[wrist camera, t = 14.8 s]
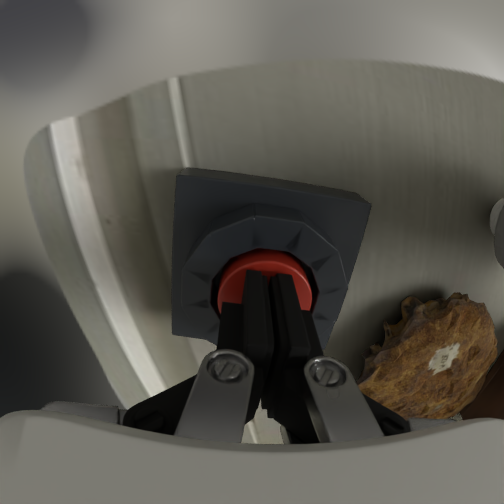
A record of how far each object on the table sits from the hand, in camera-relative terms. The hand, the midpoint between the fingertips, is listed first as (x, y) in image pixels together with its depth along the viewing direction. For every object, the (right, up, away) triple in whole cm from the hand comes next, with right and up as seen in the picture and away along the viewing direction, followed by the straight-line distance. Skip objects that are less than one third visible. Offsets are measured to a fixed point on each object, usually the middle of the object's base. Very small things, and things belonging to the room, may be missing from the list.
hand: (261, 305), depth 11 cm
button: (0, +1, +2) cm, 2 cm away
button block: (0, +2, +4) cm, 4 cm away
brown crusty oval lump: (+13, -6, +8) cm, 16 cm away
